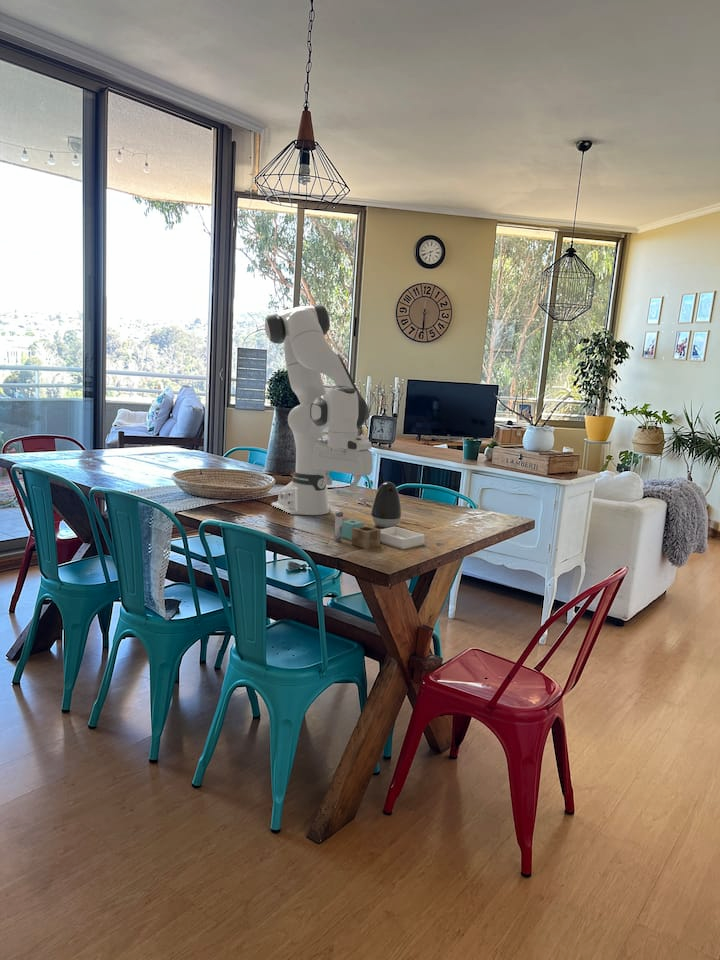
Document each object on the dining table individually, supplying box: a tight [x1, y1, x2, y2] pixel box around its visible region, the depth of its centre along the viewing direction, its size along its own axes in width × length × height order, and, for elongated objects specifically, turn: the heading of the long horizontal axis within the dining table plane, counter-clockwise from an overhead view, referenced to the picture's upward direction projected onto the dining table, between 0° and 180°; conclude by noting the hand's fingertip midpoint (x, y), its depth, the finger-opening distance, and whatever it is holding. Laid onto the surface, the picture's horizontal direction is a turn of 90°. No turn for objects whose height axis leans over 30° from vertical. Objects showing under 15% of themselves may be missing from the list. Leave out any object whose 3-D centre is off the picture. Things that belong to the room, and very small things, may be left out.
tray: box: [379, 526, 426, 550], centre depth 215 cm, size 12×10×3 cm
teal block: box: [342, 519, 365, 541], centre depth 218 cm, size 5×5×5 cm
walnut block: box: [351, 525, 381, 550], centre depth 210 cm, size 6×6×5 cm
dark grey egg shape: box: [370, 481, 402, 529], centre depth 234 cm, size 10×10×15 cm
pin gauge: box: [333, 511, 344, 543], centre depth 212 cm, size 2×2×9 cm
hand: (340, 486), depth 210 cm, fingers open, 8 cm apart
